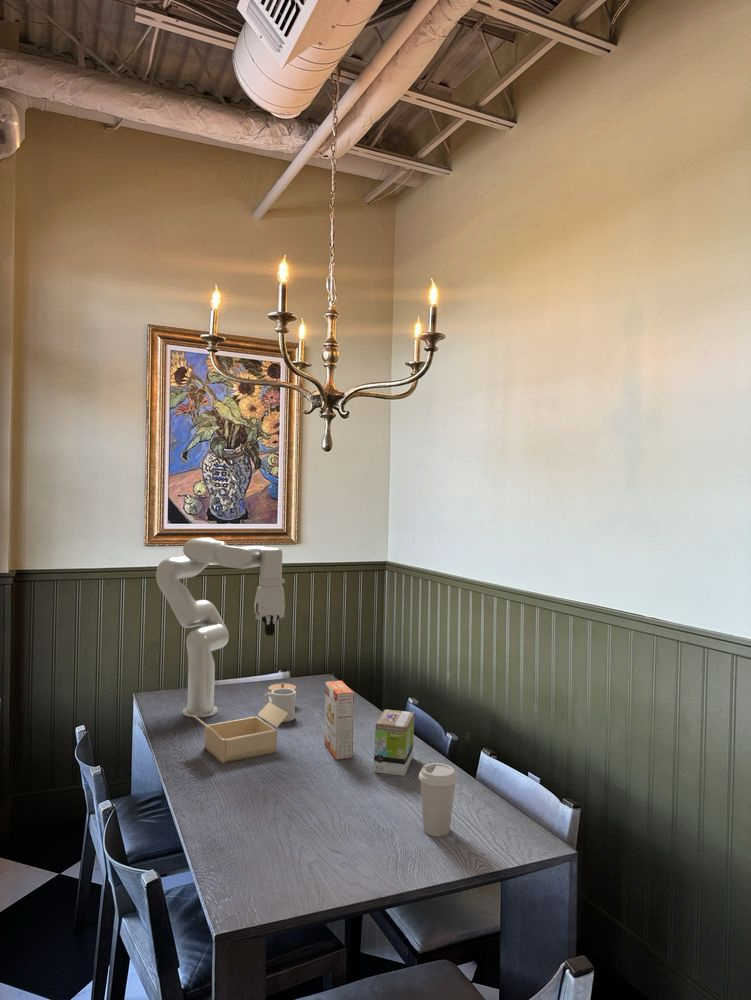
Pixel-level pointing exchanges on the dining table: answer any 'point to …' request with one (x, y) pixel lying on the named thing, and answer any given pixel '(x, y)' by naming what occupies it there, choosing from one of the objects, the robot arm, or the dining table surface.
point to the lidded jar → (282, 685)
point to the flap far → (273, 714)
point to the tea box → (394, 742)
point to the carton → (240, 739)
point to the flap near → (207, 726)
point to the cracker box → (339, 719)
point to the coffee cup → (437, 797)
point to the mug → (283, 701)
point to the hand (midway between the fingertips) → (269, 634)
